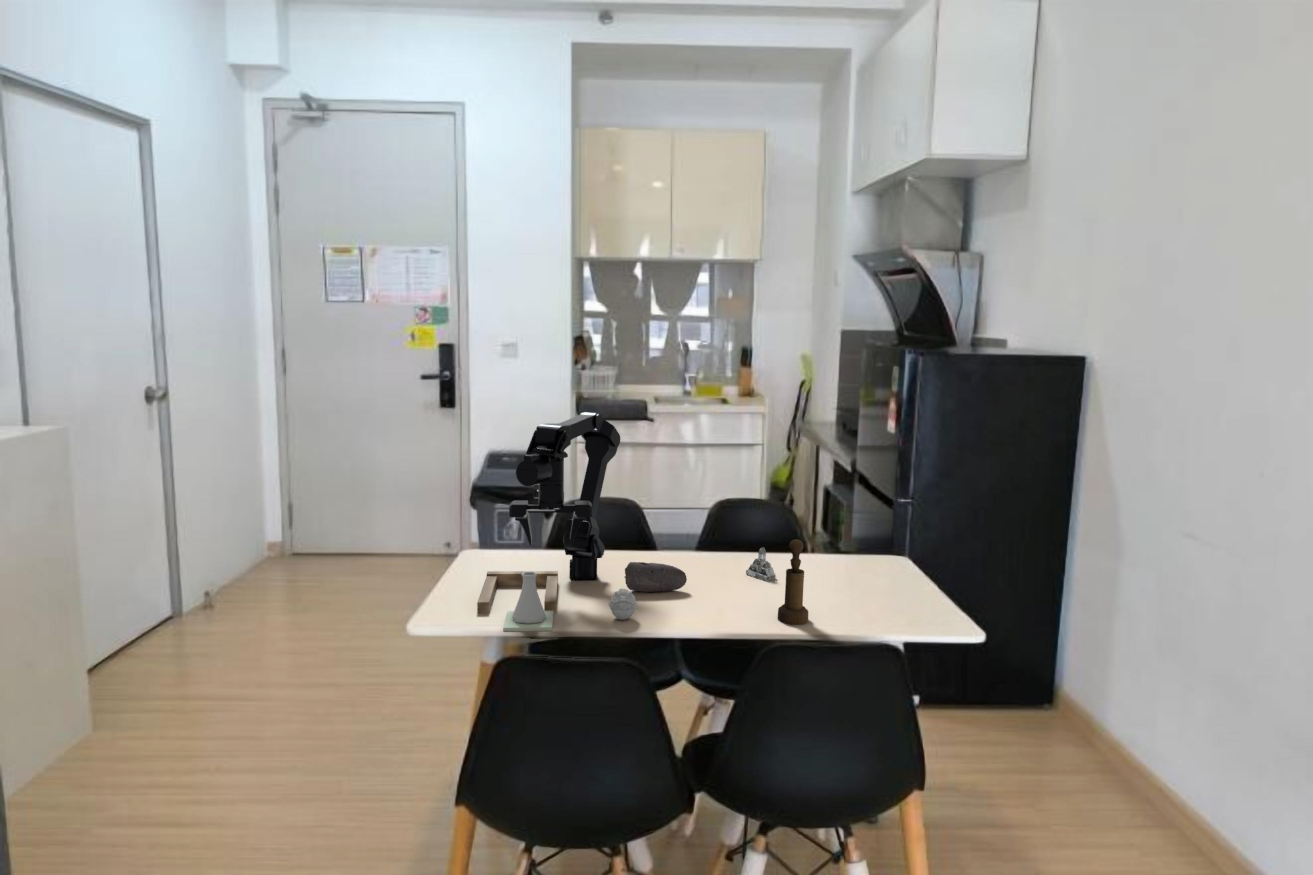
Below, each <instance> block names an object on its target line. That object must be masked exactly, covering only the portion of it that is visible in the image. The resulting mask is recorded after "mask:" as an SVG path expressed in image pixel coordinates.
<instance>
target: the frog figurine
mask: <svg viewBox="0 0 1313 875" xmlns="http://www.w3.org/2000/svg"><path fill="white" fill-rule="evenodd" d="M608 606H609V609H610V610H611V614H612V615H613V616H614V618H616V619H617V620H621V621H622V620H623V621H624V620H627V619H630V618H631V617H632V616H633V614H634V613H635V610H636V608H637V606H638V602H637V601H636V598H635V595H634V594H633V593H632V590H628V589H627V588H620V589H618V590H617V591H614V593H613V594H612V595H611V598H610V600H609V602H608Z"/></svg>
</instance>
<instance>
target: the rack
mask: <svg viewBox="0 0 1313 875" xmlns="http://www.w3.org/2000/svg"><path fill="white" fill-rule="evenodd" d="M532 571H533V570H532ZM523 572H527V571H526V570H523V571H519V570H518V571H515V570H514V571H513V570H512V571H511V570H509V571H506V570H505V571H503V570H502V571H496V570H495V571H492V570H491V571H487V572H486V575H485V576H486V577H485V579H484V582H483V584H482V585H483V586H482V588H481V591H480V594H479V597H478V599H477V604H476V607H477V608H476V610H477V611H476V613H477V614H490V611H491V609H492V608H491V607H492V605H493V601H494V599H495V598H494V597H495V595H496V594H495V593H496V592H497V587H515V586H516V587H517V586H518V587H519V586H521V587H522V585H523V577H522V573H523ZM533 572H536V573H537V576H536V587H537V586H538V587H539V586H540V587H542V586H543V587H544V586H545V592H544V602H543V603H544V604H543V605H544V606H543V609H544V611H553V614H554V613H557V602H558V587H559V570H534V571H533Z"/></svg>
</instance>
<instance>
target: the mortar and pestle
mask: <svg viewBox="0 0 1313 875" xmlns="http://www.w3.org/2000/svg"><path fill="white" fill-rule="evenodd" d="M788 547H789V548H788V549H789V550H790V552H791V556H792V558H791V559H790V560H789V561H790V566H791V568H787V569H786V570H785V586H784V587H785V589H784V604H782V605H781V606H780V607H778V609H777V620H778V621H779V622H781V623H783V624H786V625H793V626H795V625H796V626H798V625H799V626H800V625H805V624H807V623H808V622H809V610H808V608H806V607H805V606H804V604H803V601H804V585H805V584H804V583H805V582H804V580H805V570H804V569H800V567H801V564H802V559H800V556H801V553H802V551H803V549H804V543H803V542H802V541H801V540H800V539H792V540H791V541H789V545H788Z"/></svg>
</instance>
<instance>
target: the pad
mask: <svg viewBox="0 0 1313 875" xmlns="http://www.w3.org/2000/svg"><path fill="white" fill-rule="evenodd" d="M514 611H515V610H508V611H506V615H505V619H504V623H503V626H502V631H503V632H510V631H511V632H518V631H519V632H532V631H533V632H536V631H542V632H543V631H544V632H545V631H553V623H554V622H553V621H554V613H553V611H544V612H545V615H546V618H545V619H544V620H543V621H542V622H537V623H529V624H527V623H518V622H515V621H514V620H513V618H512V616H513V613H514Z"/></svg>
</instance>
